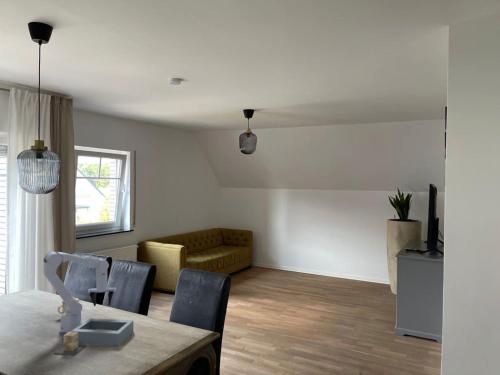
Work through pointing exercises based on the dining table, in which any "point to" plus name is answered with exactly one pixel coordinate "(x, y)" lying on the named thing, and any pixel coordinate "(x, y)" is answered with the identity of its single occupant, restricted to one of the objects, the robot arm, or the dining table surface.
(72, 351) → the mat
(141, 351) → the dining table surface
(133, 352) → the dining table surface
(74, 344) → the birch post
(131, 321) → the box
